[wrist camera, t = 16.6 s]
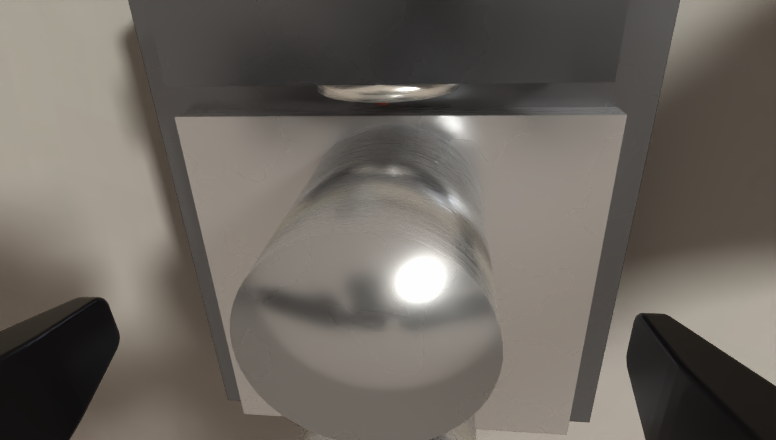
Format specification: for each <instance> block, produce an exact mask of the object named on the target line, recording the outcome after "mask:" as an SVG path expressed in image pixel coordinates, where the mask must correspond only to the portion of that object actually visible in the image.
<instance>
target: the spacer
mask: <svg viewBox="0 0 776 440" xmlns="http://www.w3.org/2000/svg"><path fill="white" fill-rule="evenodd" d="M230 337H231V344H232V348H233V351H234V355H235V358H236V360H237V363H238V365H239V367H240V369H241V371H242V373H243V374H244V376H245V377H246V379H247V381H248V382H249V384H250V385H251V386H252V387H253V389H254V390H255V391H256V392H257V393H258V395H259V396H260V397H261V398H262V399H263V400H265V401H266V402H267V403H268V404H269V405H270V406H271V407H272V408H274V409H275V410H276V411H277V412H279V413H280V414H281V415H283V416H284V417H286V418H287V419H289V420H291V421H292V422H294V423H295V424H297V425H299V426H301V427H303V428H305V429H307V430H309V431H312V432H314V433H317V434H319V435H322V436H325V437H328V438H331V439H335V440H428V439H432V438H434V437H437V436H440V435H442V434H445V433H447V432H449V431H450V430H452V429H454V428H456V427H458V426H459V425H461V424H462V423H464V422H465V421H467V420H468V419H469V418H471V417H472V416H473V415H474V414H475V413H476V412H477V411H478V410H479V409H480V408H481V407H482V406H483V404H484V403H485V402H486V401H487V399H488V398H489V397H490V395H491V393H492V391H493V390H494V388H495V386H496V383H497V381H498V378H499V375H500V372H501V367H502V361H503V342H502V335H501V328H500V321H499V314H498V307H497V299H496V292H495V285H494V278H493V271H492V264H491V257H490V250H489V243H488V236H487V229H486V222H485V215H484V208H483V201H482V194H481V189H480V186H479V182H478V179H477V177H476V175H475V173H474V171H473V169H472V167H471V166H470V164H469V163H468V161H467V160H466V159H465V158H464V156H463V155H462V154H461V153H460V152H459V151H458V150H457V149H456V148H455V147H454V146H452V145H451V144H450V143H449V142H447V141H446V140H444V139H443V138H441V137H439V136H437V135H435V134H433V133H431V132H429V131H426V130H423V129H420V128H417V127H413V126H407V125H397V124H387V125H377V126H372V127H368V128H365V129H362V130H359V131H356V132H354V133H352V134H350V135H348V136H347V137H345V138H344V139H342V140H341V141H339V142H338V143H337V144H336V145H335V146H333V147H332V148H331V149H330V150H329V151H328V153H327V154H326V155H325V156H324V157H323V159H322V160H321V162H320V163H319V165H318V166H317V168H316V170H315V171H314V173H313V174H312V176H311V177H310V179H309V180H308V182H307V184H306V185H305V187H304V188H303V190H302V191H301V193H300V194H299V196H298V197H297V199H296V201H295V202H294V204H293V205H292V207H291V208H290V210H289V211H288V213H287V214H286V216H285V218H284V219H283V221H282V222H281V224H280V225H279V227H278V228H277V230H276V231H275V233H274V235H273V236H272V238H271V239H270V241H269V242H268V244H267V245H266V247H265V248H264V250H263V252H262V253H261V255H260V256H259V258H258V259H257V261H256V262H255V264H254V266H253V267H252V269H251V270H250V272H249V273H248V275H247V276H246V278H245V279H244V281H243V283H242V285H241V286H240V288H239V290H238V291H237V294H236V297H235V299H234V302H233V305H232V310H231V315H230Z"/></svg>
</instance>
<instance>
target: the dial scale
mask: <svg viewBox="0 0 776 440" xmlns="http://www.w3.org/2000/svg"><path fill="white" fill-rule="evenodd" d="M128 1H129V5H130V9H131V13H132V17H133V21H134V25H135V29H136V33H137V37H138V41H139V45H140V49H141V53H142V57H143V61H144V65H145V69H146V73H147V77H148V81H149V85H150V89H151V93H152V97H153V101H154V105H155V109H156V113H157V117H158V121H159V125H160V129H161V133H162V137H163V141H164V145H165V149H166V153H167V157H168V161H169V165H170V169H171V173H172V177H173V181H174V185H175V189H176V193H177V197H178V201H179V205H180V209H181V213H182V217H183V221H184V225H185V229H186V233H187V237H188V241H189V245H190V249H191V253H192V257H193V261H194V266H195V270H196V274H197V278H198V282H199V286H200V290H201V294H202V298H203V302H204V306H205V310H206V314H207V318H208V322H209V326H210V330H211V334H212V338H213V342H214V346H215V350H216V354H217V358H218V362H219V366H220V370H221V374H222V378H223V382H224V386H225V390H226V394H227V398H228V400H237V401H241V404H242V408H243V412H244V414H253V415H269V416H283V415H281V414H280V413H279V412H277V411H276V410H275V409H274V408H272V407H271V406H270V405H269V404H268V403H267V402H266V401H265V400H263V399H262V398H261V397H260V396H259V395H258V393H257V392H256V391H255V390H254V389H253V387H252V386H251V385H250V384H249V382H248V381H247V379H246V377H245V376H244V374H243V373H242V371H241V369H240V367H239V365H238V363H237V360H236V358H235V355H234V351H233V348H232V344H231V337H230V315H231V310H232V305H233V302H234V299H235V297H236V294H237V291H238V290H239V288H240V286H241V285H242V283H243V281H244V279H245V278H246V276H247V275H248V273H249V272H250V270H251V269H252V267H253V266H254V264H255V262H256V261H257V259H258V258H259V256H260V255H261V253H262V252H263V250H264V248H265V247H266V245H267V244H268V242H269V241H270V239H271V238H272V236H273V235H274V233H275V231H276V230H277V228H278V227H279V225H280V224H281V222H282V221H283V219H284V218H285V216H286V214H287V213H288V211H289V210H290V208H291V207H292V205H293V204H294V202H295V201H296V199H297V197H298V196H299V194H300V193H301V191H302V190H303V188H304V187H305V185H306V184H307V182H308V180H309V179H310V177H311V176H312V174H313V173H314V171H315V170H316V168H317V166H318V165H319V163H320V162H321V160H322V159H323V157H324V156H325V155H326V154H327V153H328V151H329V150H330V149H331V148H332V147H333V146H335V145H336V144H337V143H338V142H339V141H341V140H342V139H344V138H345V137H347V136H348V135H350V134H352V133H354V132H356V131H359V130H362V129H365V128H368V127H372V126H377V125H387V124H397V125H407V126H413V127H417V128H420V129H423V130H426V131H429V132H431V133H433V134H435V135H437V136H439V137H441V138H443V139H444V140H446V141H447V142H449V143H450V144H451V145H452V146H454V147H455V148H456V149H457V150H458V151H459V152H460V153H461V154H462V155H463V156H464V158H465V159H466V160H467V161H468V163H469V164H470V166H471V167H472V169H473V171H474V173H475V175H476V177H477V179H478V182H479V186H480V189H481V194H482V201H483V208H484V215H485V222H486V229H487V236H488V243H489V250H490V257H491V264H492V271H493V278H494V285H495V292H496V299H497V307H498V314H499V321H500V328H501V335H502V342H503V361H502V367H501V372H500V375H499V378H498V381H497V383H496V386H495V388H494V390H493V391H492V393H491V395H490V397H489V398H488V399H487V401H486V402H485V403H484V404H483V406H482V407H481V408H480V409H479V410H478V411H477V412H476V413H475V425H476V429H484V430H499V431H514V432H530V433H545V434H560V435H567V431H568V425H569V421H576V422H590V417H591V412H592V408H593V403H594V398H595V394H596V389H597V384H598V380H599V375H600V370H601V366H602V361H603V356H604V352H605V347H606V343H607V338H608V333H609V329H610V324H611V319H612V315H613V310H614V305H615V301H616V296H617V291H618V287H619V282H620V277H621V273H622V268H623V264H624V259H625V254H626V250H627V245H628V240H629V236H630V231H631V226H632V222H633V217H634V212H635V208H636V203H637V198H638V194H639V189H640V184H641V180H642V175H643V171H644V166H645V161H646V157H647V152H648V147H649V143H650V138H651V133H652V129H653V124H654V119H655V115H656V110H657V105H658V101H659V96H660V92H661V87H662V82H663V78H664V73H665V68H666V64H667V59H668V54H669V50H670V45H671V40H672V36H673V31H674V26H675V22H676V17H677V13H678V8H679V3H680V0H128Z"/></svg>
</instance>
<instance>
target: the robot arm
mask: <svg viewBox="0 0 776 440" xmlns="http://www.w3.org/2000/svg"><path fill="white" fill-rule="evenodd" d="M119 339H120V336H119V331H118V328H117V326H116V323H115V320H114V318H113V315H112V312H111V310H110V307H109V305H108V303H107V301H106V300H105V299H103V298H100V297H78V298H76V299H73V300H71V301H69V302H66V303H64V304H62V305H60V306H57V307H55V308H53V309H50V310H48V311H46V312H44V313H41V314H39V315H37V316H34V317H32V318H30V319H28V320H25V321H23V322H21V323H18V324H16V325H14V326H12V327H9V328H7V329H5V330H2V331H0V440H70V438H71V437H72V435H73V433H74V432H75V430H76V428H77V427H78V425H79V423H80V421H81V419H82V417H83V415H84V414H85V412H86V410H87V408H88V406H89V404H90V402H91V400H92V398H93V396H94V394H95V392H96V390H97V388H98V386H99V384H100V382H101V380H102V378H103V376H104V374H105V372H106V370H107V368H108V366H109V364H110V362H111V360H112V358H113V356H114V354H115V352H116V350H117V348H118V345H119ZM626 359H627V368H628V373H629V377H630V380H631V384H632V388H633V392H634V396H635V400H636V404H637V408H638V412H639V416H640V420H641V424H642V428H643V431H644V435H645V439H646V440H776V386H775V385H773V384H772V383H770V382H769V381H767V380H766V379H764V378H763V377H761V376H760V375H758V374H757V373H755V372H753V371H752V370H750V369H749V368H747V367H746V366H744V365H743V364H741V363H740V362H738V361H737V360H735V359H734V358H732V357H731V356H729V355H728V354H726V353H725V352H723V351H722V350H720V349H719V348H717V347H716V346H714V345H713V344H711V343H709V342H708V341H706V340H705V339H703V338H702V337H700V336H699V335H697V334H696V333H694V332H693V331H691V330H690V329H688V328H687V327H685V326H684V325H682V324H681V323H679V322H678V321H676V320H675V319H673V318H672V317H670V316H668V315H666V314H654V313H640V314H639V315H637V316H636V318H635V320H634V323H633V328H632V332H631V337H630V341H629V346H628V350H627V358H626Z"/></svg>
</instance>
